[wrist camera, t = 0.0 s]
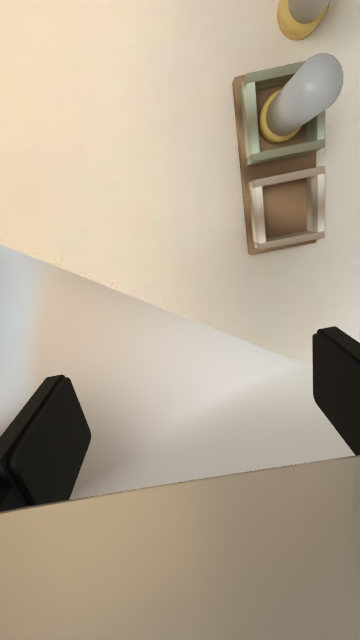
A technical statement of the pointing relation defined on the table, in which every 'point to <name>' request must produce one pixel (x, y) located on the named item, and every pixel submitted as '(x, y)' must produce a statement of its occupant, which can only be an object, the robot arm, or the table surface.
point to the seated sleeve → (301, 98)
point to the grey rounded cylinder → (300, 16)
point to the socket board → (278, 169)
